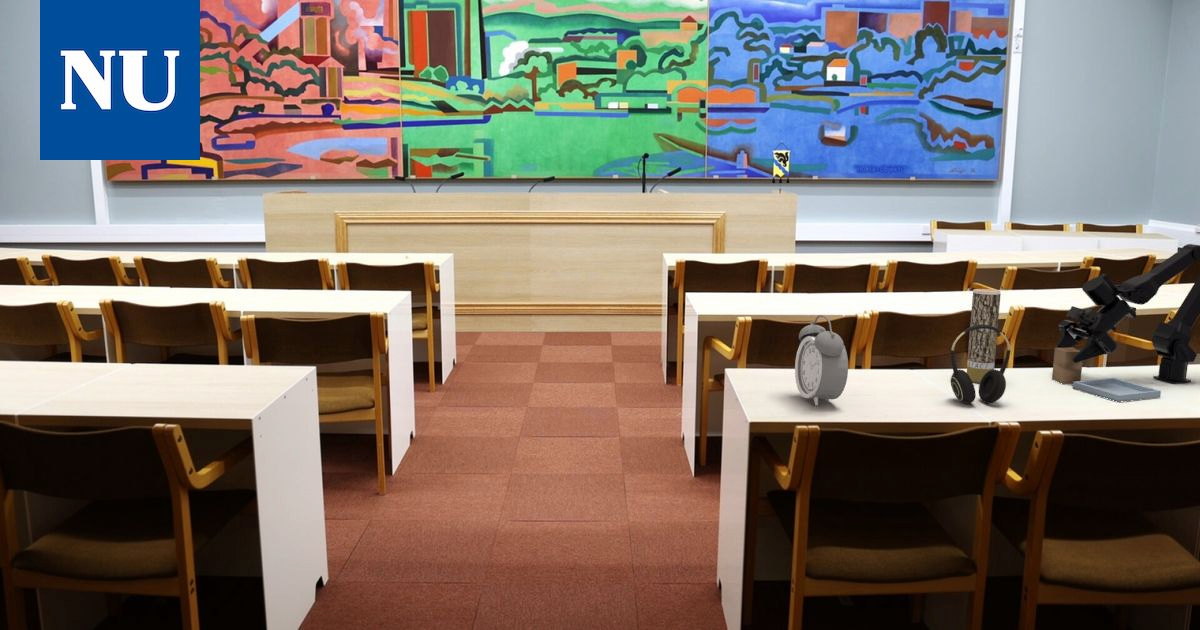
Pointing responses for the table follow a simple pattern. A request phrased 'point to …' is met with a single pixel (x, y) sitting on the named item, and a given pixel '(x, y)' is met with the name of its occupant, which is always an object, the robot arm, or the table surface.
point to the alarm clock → (820, 363)
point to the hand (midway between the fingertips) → (1063, 357)
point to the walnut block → (1066, 366)
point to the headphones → (990, 383)
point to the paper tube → (983, 333)
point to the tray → (1116, 389)
